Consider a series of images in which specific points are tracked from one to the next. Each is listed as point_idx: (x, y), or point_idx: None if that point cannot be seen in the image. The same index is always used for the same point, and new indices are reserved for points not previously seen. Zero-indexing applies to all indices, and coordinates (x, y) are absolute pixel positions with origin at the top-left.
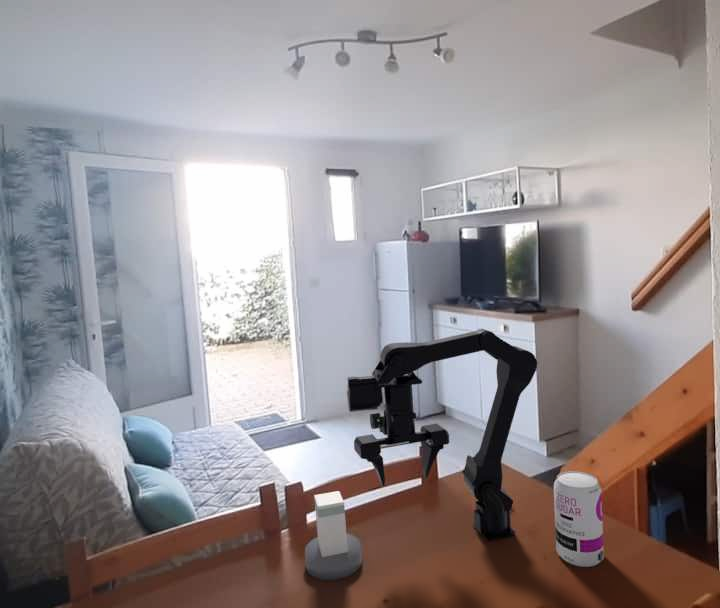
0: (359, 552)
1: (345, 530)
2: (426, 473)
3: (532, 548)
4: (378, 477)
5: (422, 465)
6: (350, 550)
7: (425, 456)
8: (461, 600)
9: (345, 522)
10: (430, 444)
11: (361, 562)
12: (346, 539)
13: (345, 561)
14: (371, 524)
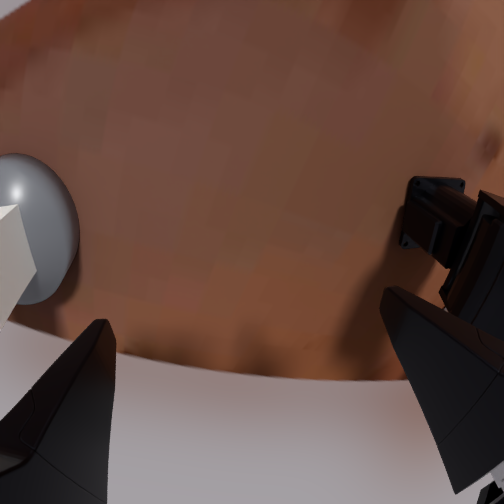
0: (64, 273)
1: (10, 310)
2: (393, 339)
3: (435, 283)
4: (69, 350)
5: (423, 320)
6: (41, 266)
7: (455, 400)
8: (252, 373)
9: (2, 327)
10: (494, 478)
11: (77, 246)
12: (22, 291)
13: (37, 302)
14: (135, 43)
